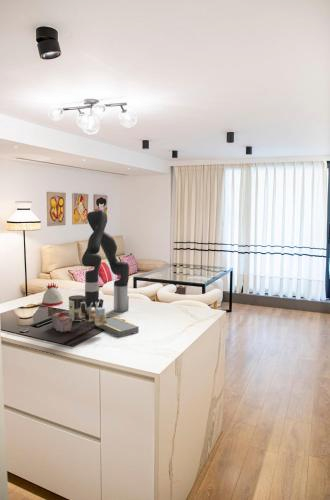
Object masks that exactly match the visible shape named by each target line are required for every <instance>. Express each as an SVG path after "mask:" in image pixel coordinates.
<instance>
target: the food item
mask: <svg viewBox="0 0 330 500" xmlns="http://www.w3.org/2000/svg"><path fill="white" fill-rule="evenodd" d="M72 325H73V321H72V318H70V317H69V315H68V314H67V313H66V312H63V311H61V312H55V313H53V314H51V328H53V329H55V331H56V332H61V333H63V332H64V333H67V331H69V332H71V331H72Z"/></svg>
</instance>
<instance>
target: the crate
mask: <svg viewBox="0 0 330 500" xmlns="http://www.w3.org/2000/svg"><path fill="white" fill-rule="evenodd" d="M105 311H106V309H105V308H104V307H100V308H96V315H98V316H102V315H105V314H106V312H105Z"/></svg>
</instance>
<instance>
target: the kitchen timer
mask: <svg viewBox="0 0 330 500" xmlns="http://www.w3.org/2000/svg"><path fill="white" fill-rule="evenodd" d="M46 288H47V289H46V291H45V292H44V293H43V297H42V302H41V303H42V305H43V306H49V307H50V306H51V307H52V306H53V307H54V306H59V305H63V296H62V294H61V291H60V290H59V289H58V288H59V285H57V283H55V282H53V283H52V282H51V283H48V285H46Z"/></svg>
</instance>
